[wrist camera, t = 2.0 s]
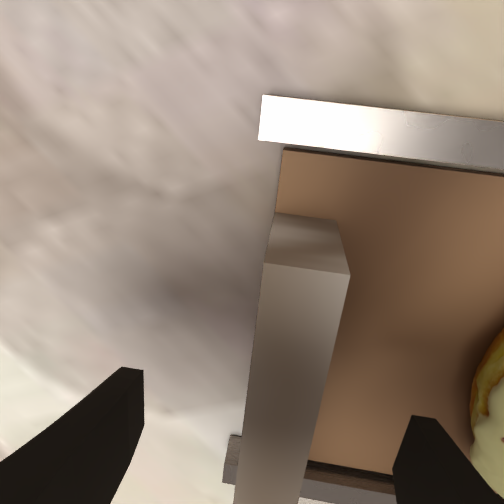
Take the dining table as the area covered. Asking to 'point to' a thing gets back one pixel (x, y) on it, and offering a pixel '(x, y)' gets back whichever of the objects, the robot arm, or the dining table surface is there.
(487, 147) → the rails
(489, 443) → the decorated donut
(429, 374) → the brown square board
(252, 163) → the dining table surface
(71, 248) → the dining table surface
